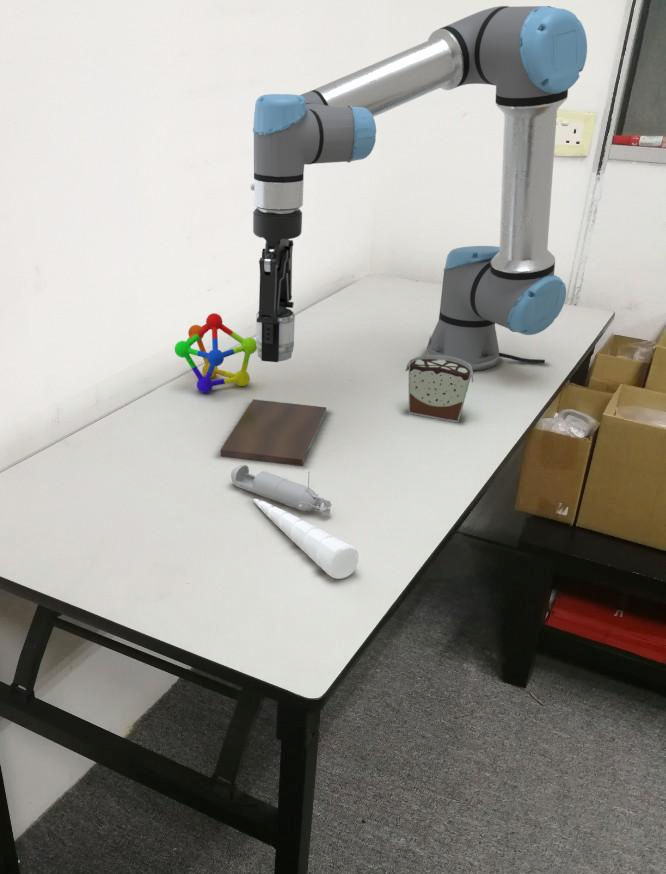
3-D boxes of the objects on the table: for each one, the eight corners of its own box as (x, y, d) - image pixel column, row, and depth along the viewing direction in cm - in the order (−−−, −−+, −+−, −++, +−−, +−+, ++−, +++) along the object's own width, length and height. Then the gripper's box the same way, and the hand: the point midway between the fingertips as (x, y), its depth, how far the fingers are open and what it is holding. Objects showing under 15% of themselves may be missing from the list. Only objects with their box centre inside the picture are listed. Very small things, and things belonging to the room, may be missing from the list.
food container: (474, 411, 160) (482, 360, 155) (466, 424, 155) (474, 371, 150) (410, 400, 164) (415, 349, 159) (400, 412, 160) (406, 360, 154)
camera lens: (300, 354, 144) (302, 307, 140) (281, 365, 140) (282, 317, 136) (268, 346, 147) (269, 301, 143) (248, 357, 143) (249, 310, 138)
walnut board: (326, 413, 159) (326, 407, 158) (302, 466, 141) (302, 459, 140) (252, 405, 162) (253, 399, 161) (220, 456, 143) (220, 449, 143)
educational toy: (169, 399, 166) (159, 322, 158) (199, 377, 176) (191, 303, 169) (242, 405, 160) (235, 326, 153) (269, 382, 170) (263, 306, 163)
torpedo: (224, 489, 134) (223, 451, 130) (242, 477, 137) (242, 440, 134) (320, 525, 125) (323, 485, 121) (338, 512, 128) (340, 473, 125)
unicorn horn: (275, 496, 132) (276, 468, 129) (359, 575, 114) (362, 545, 112) (248, 503, 130) (248, 475, 127) (329, 585, 112) (331, 554, 110)
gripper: (268, 195, 140) (266, 333, 152) (237, 220, 124) (238, 371, 136) (313, 198, 138) (307, 337, 151) (288, 223, 122) (284, 376, 135)
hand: (274, 353), depth 143 cm, fingers closed on camera lens, 6 cm apart
